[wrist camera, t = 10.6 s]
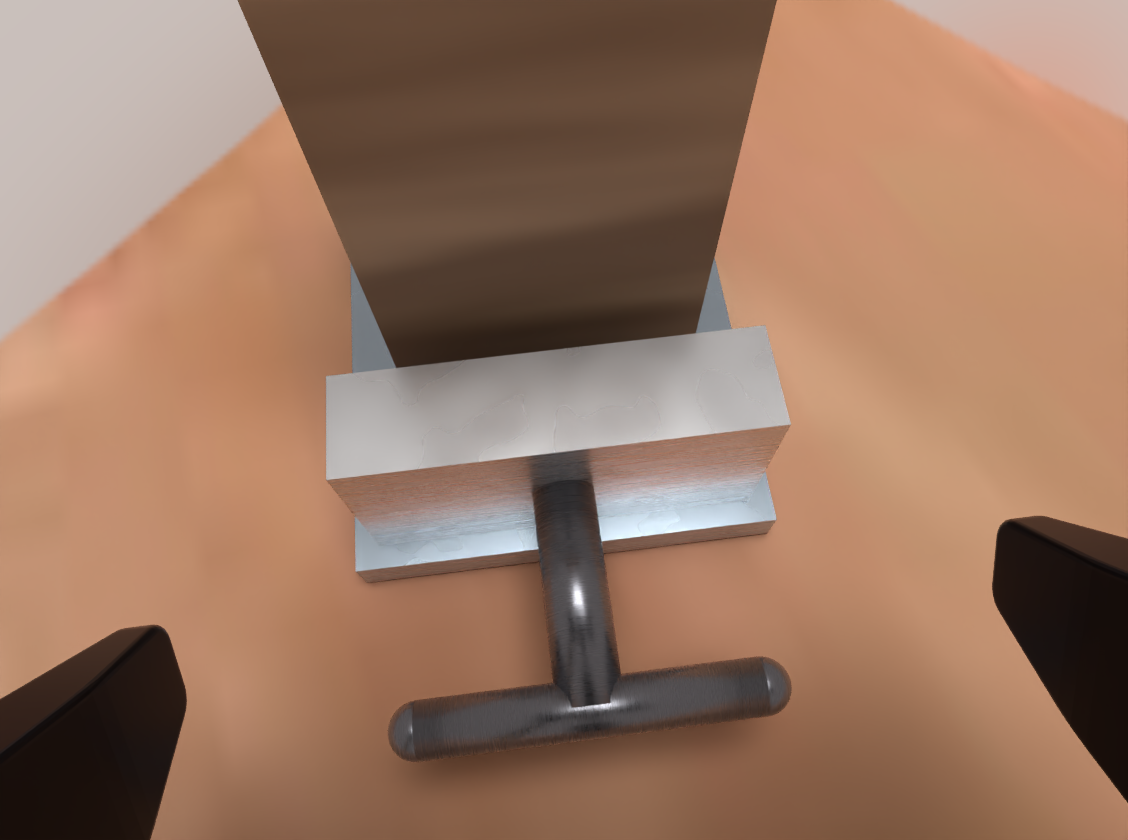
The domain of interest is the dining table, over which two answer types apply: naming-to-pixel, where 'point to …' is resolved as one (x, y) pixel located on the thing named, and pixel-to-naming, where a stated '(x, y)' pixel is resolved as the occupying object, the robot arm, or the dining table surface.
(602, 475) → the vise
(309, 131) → the walnut slab
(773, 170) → the dining table surface
